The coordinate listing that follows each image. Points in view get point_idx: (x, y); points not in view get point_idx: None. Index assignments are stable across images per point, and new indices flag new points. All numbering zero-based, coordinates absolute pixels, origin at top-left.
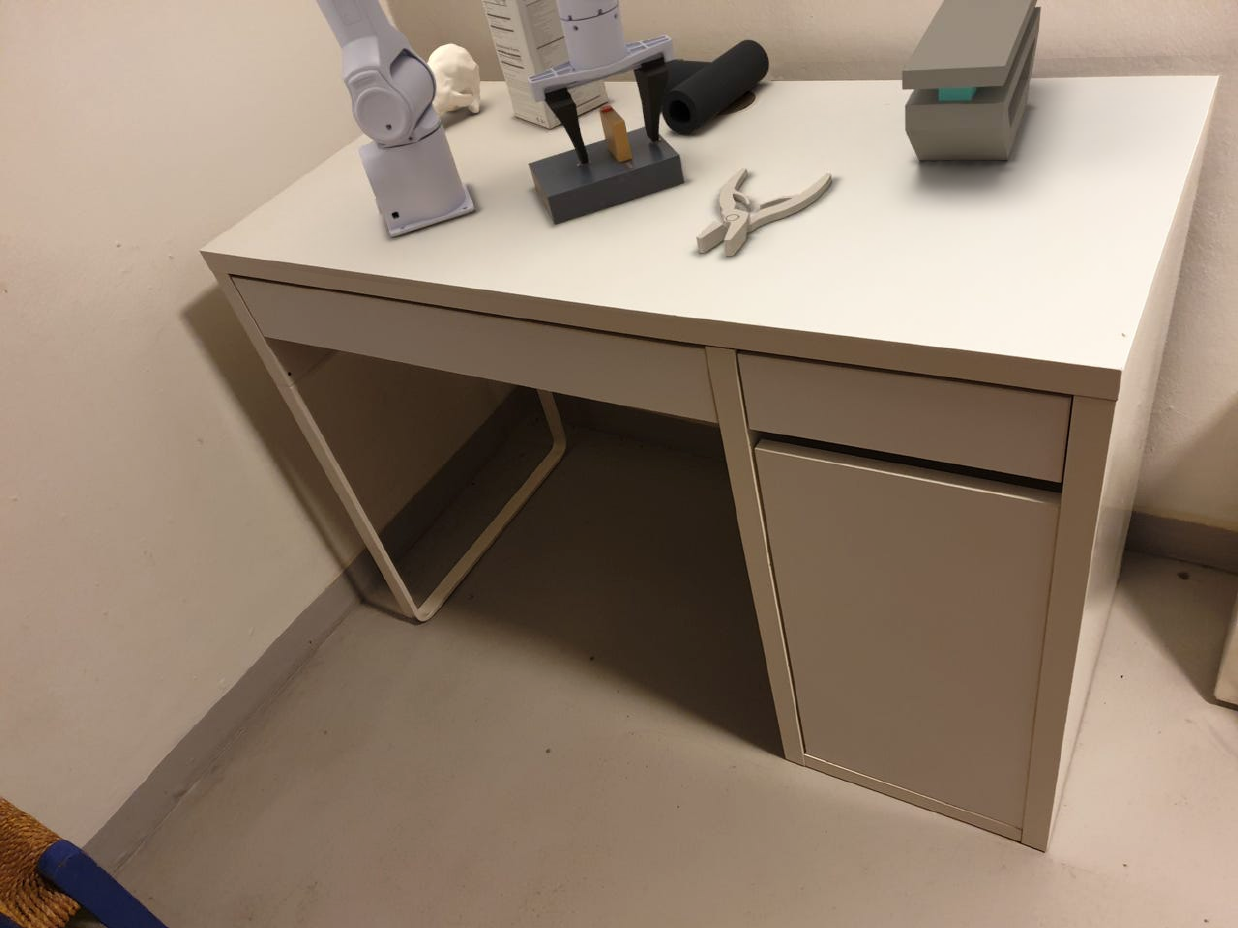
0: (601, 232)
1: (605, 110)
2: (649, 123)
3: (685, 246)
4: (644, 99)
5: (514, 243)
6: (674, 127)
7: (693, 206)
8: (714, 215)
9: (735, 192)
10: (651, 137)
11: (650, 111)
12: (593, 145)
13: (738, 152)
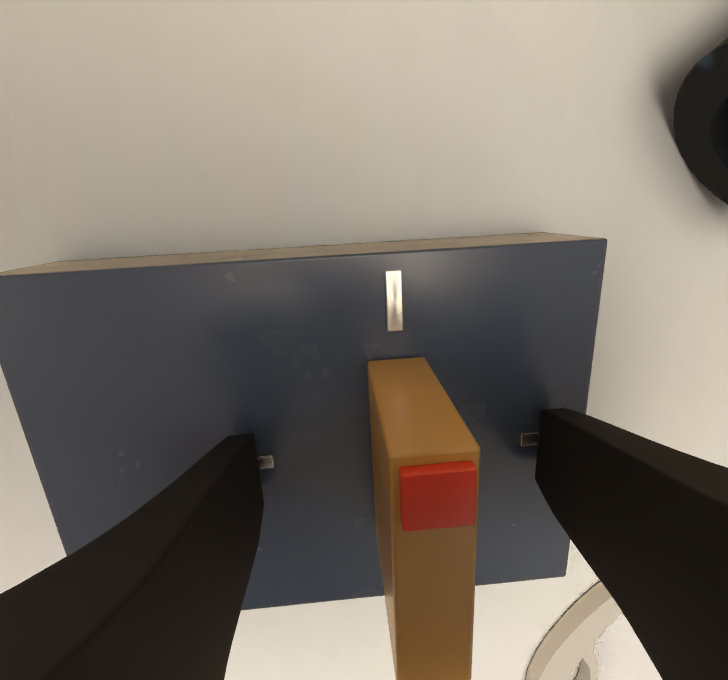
0: (261, 631)
1: (422, 524)
2: (579, 518)
3: None
4: (673, 575)
5: (16, 581)
6: (690, 119)
7: (490, 621)
8: (510, 671)
9: (588, 657)
10: (543, 478)
11: (625, 611)
12: (315, 290)
13: (722, 417)
